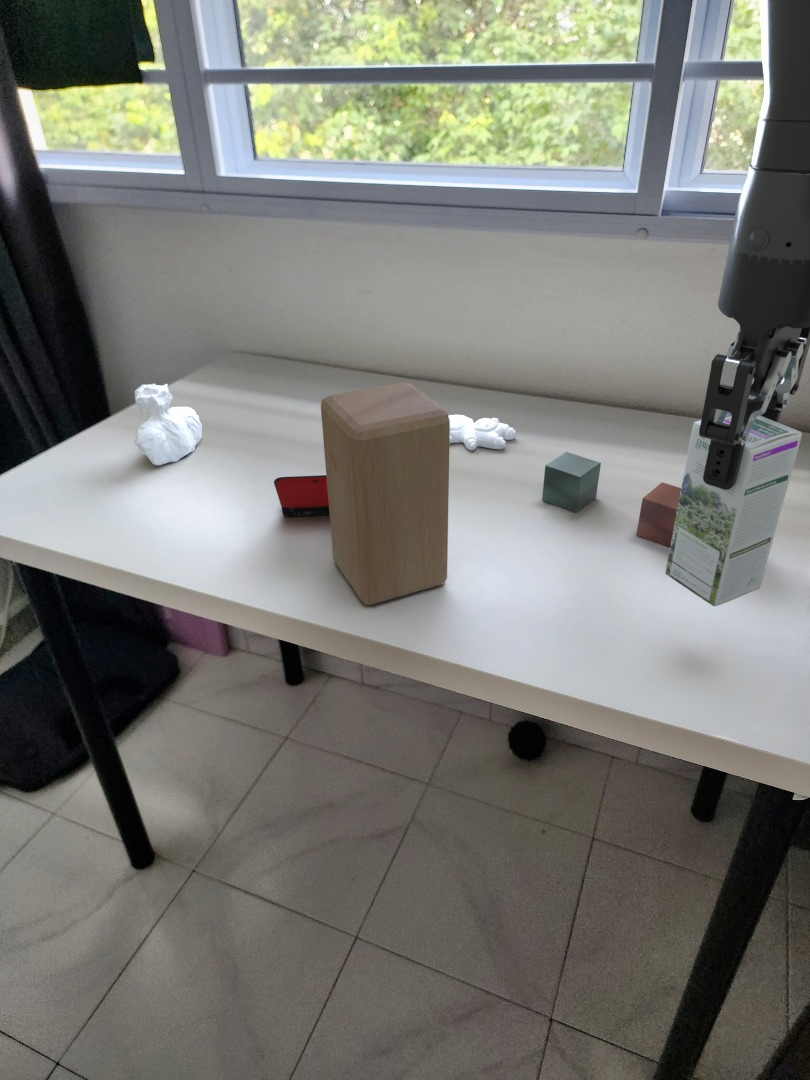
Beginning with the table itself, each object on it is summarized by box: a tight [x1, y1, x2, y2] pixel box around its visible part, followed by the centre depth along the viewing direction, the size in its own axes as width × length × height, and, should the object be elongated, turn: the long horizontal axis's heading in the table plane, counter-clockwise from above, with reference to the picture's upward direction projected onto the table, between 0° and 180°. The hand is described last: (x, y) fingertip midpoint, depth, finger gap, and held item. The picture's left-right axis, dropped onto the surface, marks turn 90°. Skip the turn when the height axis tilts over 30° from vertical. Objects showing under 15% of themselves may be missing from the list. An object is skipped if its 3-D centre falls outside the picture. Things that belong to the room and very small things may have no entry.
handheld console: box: [273, 474, 330, 518], centre depth 93 cm, size 12×11×7 cm
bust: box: [134, 383, 203, 466], centre depth 107 cm, size 12×8×11 cm
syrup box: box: [665, 412, 803, 607], centre depth 60 cm, size 6×6×14 cm
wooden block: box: [320, 381, 450, 606], centre depth 77 cm, size 10×10×20 cm
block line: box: [541, 451, 681, 548], centre depth 89 cm, size 24×5×5 cm, turn 49°
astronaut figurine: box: [448, 414, 517, 451], centre depth 111 cm, size 9×12×3 cm
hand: (737, 467), depth 58 cm, fingers closed on syrup box, 7 cm apart
